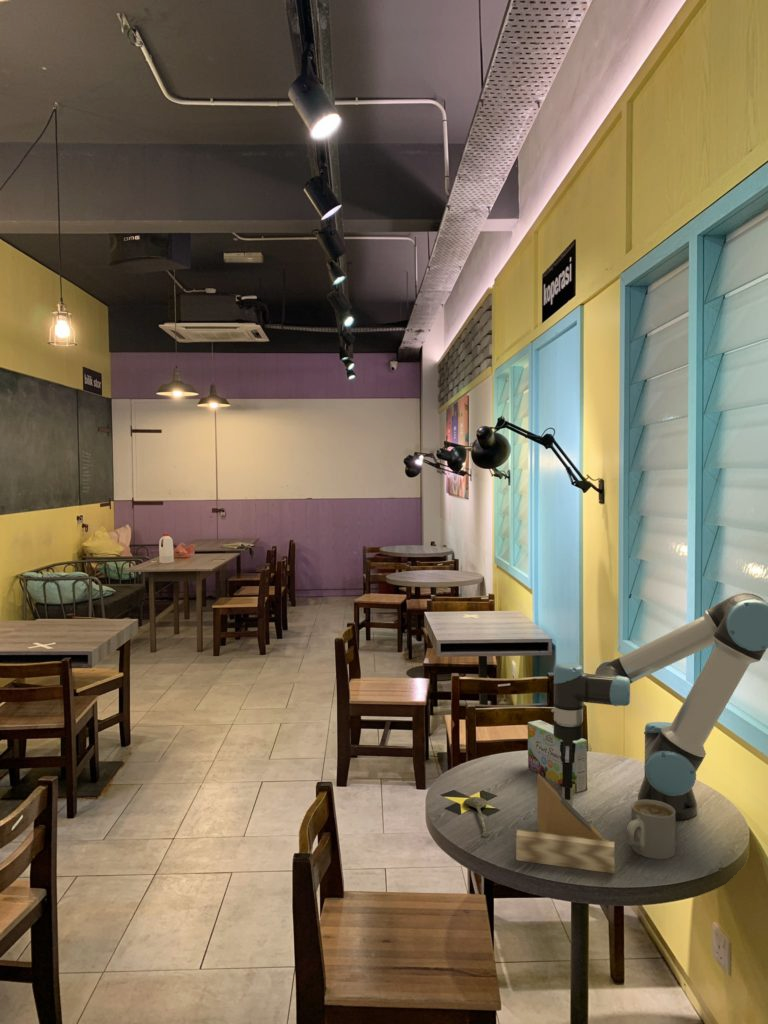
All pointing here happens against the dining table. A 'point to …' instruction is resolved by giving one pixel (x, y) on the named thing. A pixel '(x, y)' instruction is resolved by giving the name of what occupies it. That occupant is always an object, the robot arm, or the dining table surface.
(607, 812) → the dining table surface
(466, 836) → the dining table surface
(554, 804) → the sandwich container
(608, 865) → the birch board
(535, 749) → the snack box
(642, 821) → the coffee mug
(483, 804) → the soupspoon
